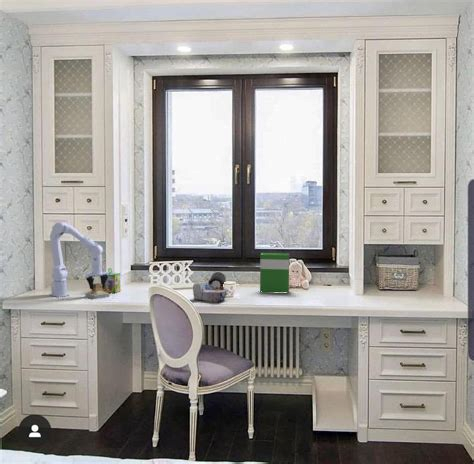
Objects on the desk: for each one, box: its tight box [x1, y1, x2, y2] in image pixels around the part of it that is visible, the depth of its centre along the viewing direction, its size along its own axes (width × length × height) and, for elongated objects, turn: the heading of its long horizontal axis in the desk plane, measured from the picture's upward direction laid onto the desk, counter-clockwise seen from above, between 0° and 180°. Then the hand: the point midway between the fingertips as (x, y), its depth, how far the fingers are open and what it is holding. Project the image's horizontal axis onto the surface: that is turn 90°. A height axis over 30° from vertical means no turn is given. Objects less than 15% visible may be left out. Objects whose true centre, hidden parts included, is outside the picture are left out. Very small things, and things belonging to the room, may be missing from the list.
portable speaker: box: [207, 271, 227, 289], centre depth 373 cm, size 26×10×10 cm, turn 178°
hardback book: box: [259, 252, 290, 293], centre depth 365 cm, size 18×7×24 cm, turn 83°
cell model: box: [192, 281, 229, 303], centre depth 338 cm, size 13×11×20 cm
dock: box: [85, 292, 110, 300], centre depth 346 cm, size 10×10×2 cm
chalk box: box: [102, 267, 122, 294], centre depth 362 cm, size 9×9×15 cm
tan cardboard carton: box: [89, 283, 104, 295], centre depth 346 cm, size 7×5×6 cm
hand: (97, 288), depth 346 cm, fingers open, 7 cm apart
